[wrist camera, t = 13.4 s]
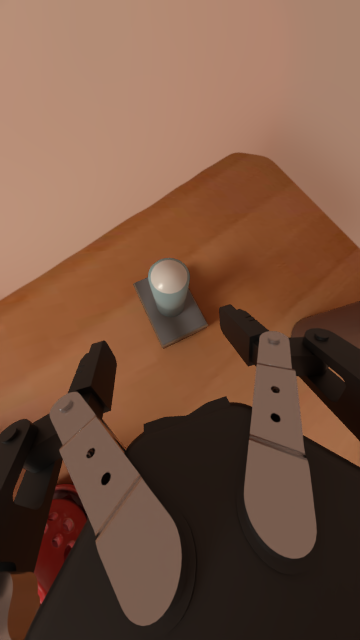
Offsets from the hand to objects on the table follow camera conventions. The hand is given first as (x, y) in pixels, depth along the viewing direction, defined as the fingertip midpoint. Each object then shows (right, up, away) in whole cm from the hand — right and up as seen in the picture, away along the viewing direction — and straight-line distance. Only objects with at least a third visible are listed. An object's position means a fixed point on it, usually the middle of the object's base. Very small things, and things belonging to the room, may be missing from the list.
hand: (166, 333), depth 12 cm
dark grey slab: (-1, +3, +22) cm, 22 cm away
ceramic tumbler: (-1, +4, +18) cm, 19 cm away
